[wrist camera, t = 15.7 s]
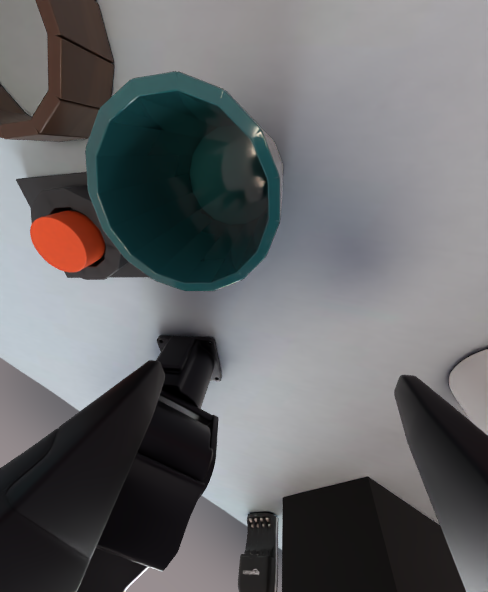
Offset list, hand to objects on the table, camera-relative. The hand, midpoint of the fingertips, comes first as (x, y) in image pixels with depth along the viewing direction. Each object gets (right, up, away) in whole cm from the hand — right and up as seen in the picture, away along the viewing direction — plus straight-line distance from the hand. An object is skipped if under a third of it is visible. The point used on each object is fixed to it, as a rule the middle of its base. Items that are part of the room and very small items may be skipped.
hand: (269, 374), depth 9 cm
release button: (-14, +7, +9) cm, 18 cm away
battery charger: (+3, -43, +41) cm, 60 cm away
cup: (-2, +11, +8) cm, 14 cm away
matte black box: (+25, -40, +35) cm, 59 cm away
